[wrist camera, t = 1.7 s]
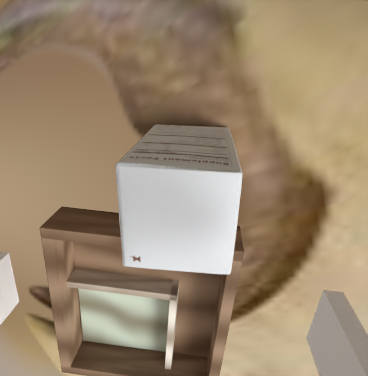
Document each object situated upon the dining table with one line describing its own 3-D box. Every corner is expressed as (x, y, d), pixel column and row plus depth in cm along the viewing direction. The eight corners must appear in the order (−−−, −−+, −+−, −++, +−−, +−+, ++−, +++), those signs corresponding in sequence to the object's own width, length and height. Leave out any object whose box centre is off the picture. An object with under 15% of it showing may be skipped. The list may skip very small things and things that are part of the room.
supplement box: (224, 196, 30) (231, 280, 18) (154, 190, 30) (118, 269, 19) (231, 125, 27) (246, 172, 15) (153, 120, 27) (111, 163, 16)
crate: (61, 206, 32) (39, 227, 28) (239, 226, 31) (243, 251, 27) (77, 341, 41) (61, 372, 37) (215, 360, 40) (215, 394, 36)
